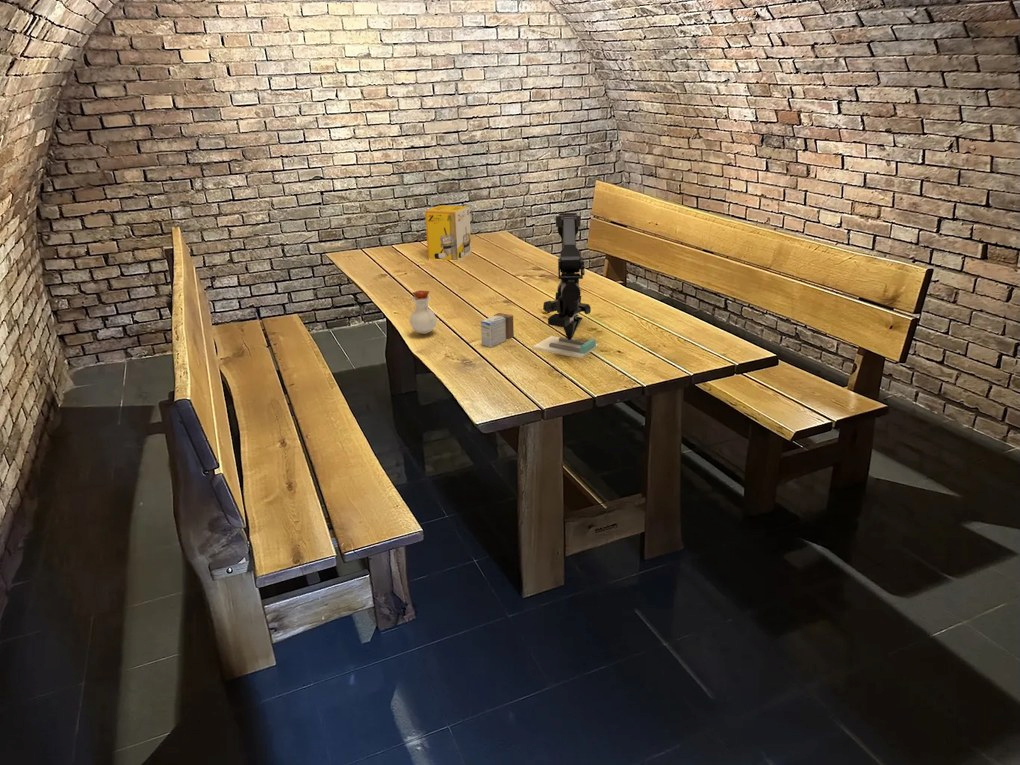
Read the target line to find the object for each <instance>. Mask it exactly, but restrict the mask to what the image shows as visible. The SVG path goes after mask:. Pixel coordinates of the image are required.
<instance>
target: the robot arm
mask: <svg viewBox="0 0 1020 765" xmlns="http://www.w3.org/2000/svg"><path fill="white" fill-rule="evenodd" d="M581 219H582V218H581V215H577V212H559V213H558V215H557V216H556V215H555V227H556V228H557V234H558V236H559V237H560V239H561V250H560V254H559V255H560V257H559V258H557V271H558V272H557V275H558V276H557V277H558V278H557V279H558V280H560V282H559V284H558V285H557V292H556V291H555V299H554V300H547V301H545V302H543V305H542V306H543V308H542V309H543V311H544V312H545V313H546V314H550V313H553V312H556V313H554V314H552V315H550V316H549V317H548V318H547V325H549V326H554V327H560V328H563V330H564V333H565V336H566V338H567V339H568V340H571V339H573V337H574V336H575V333H576V331H577V329H578V327H579V325H580V323H581V321H583V317H581V316H579V314H580V313H581V312H583V313H584V314H585V315H588V314H590V313H591V312H592V310H591V309H592V308H591V305H590V304H589V303H585V302H584V303H583V302H582V295H581V287H580V280H582V279H584V276H585V261H584V259H583V257H581V251H580V250H579V249H578V248H577V242H576V241H577V239H576V236H577V235H578V233H579V228H580V227H581V225H582V224H581V222H582V221H581Z"/></svg>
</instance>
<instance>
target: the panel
mask: <svg viewBox="0 0 1020 765" xmlns="http://www.w3.org/2000/svg"><path fill="white" fill-rule="evenodd" d="M493 316H501V317H504V318H505V322H506V340H510V339H512V338H513V337H514V333H515V332H514V328H515V327H514V315H513V314H508V313H503V312H502V313H501V312H498V313H495V314H494V315H493Z"/></svg>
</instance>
